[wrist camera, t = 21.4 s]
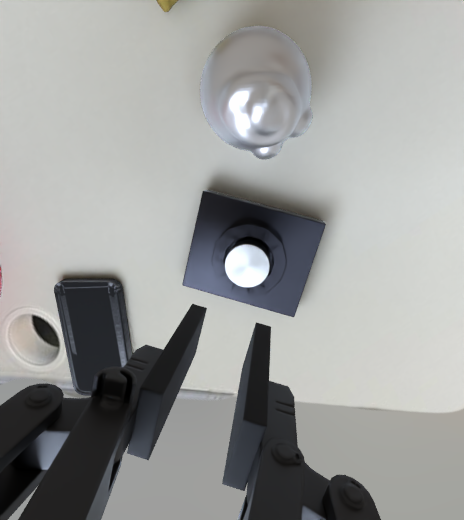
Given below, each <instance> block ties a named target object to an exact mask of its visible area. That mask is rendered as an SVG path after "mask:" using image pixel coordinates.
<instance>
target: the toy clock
mask: <svg viewBox="0 0 464 520" xmlns="http://www.w3.org/2000/svg"><path fill="white" fill-rule="evenodd" d="M1 288H2V276H1V267H0V296H1Z"/></svg>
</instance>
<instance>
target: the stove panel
mask: <svg viewBox="0 0 464 520" xmlns="http://www.w3.org/2000/svg"><path fill="white" fill-rule="evenodd" d="M325 225H326V224H325V223H324V222H323V221H322V220H319V219H316V218H312V217H308V216H305V215H301V214H297V213H293V212H290V211H286V210H282V209H279V208H275V207H271V206H267V205H264V204H260V203H256V202H253V201H249V200H245V199H241V198H238V197H234V196H230V195H227V194H223V193H219V192H215V191H212V190H205V191H203V193H202V198H201V202H200V207H199V211H198V216H197V221H196V225H195V230H194V234H193V239H192V243H191V248H190V253H189V257H188V262H187V266H186V271H185V275H184V280H183V285H184V286H187V287H191V288H194V289H198V290H201V291H204V292H208V293H211V294H215V295H218V296H222V297H225V298H229V299H232V300H236V301H239V302H243V303H246V304H250V305H253V306H257V307H260V308H263V309H267V310H270V311H274V312H277V313H281V314H284V315H288V316H291V317H294V316H295V313H296V310H297V307H298V304H299V301H300V298H301V295H302V292H303V290H304V287H305V284H306V281H307V278H308V275H309V272H310V269H311V266H312V263H313V260H314V257H315V254H316V251H317V249H318V246H319V243H320V240H321V237H322V234H323V231H324V228H325ZM242 240H255V241H258V242H260V243H261V244H262V245H264V246H265V248H266V249H267V250H268V252H269V255H270V270H269V273H268V276H267V277H266V279H265V280H264V281H263V282H262V283H261V284H259V285H257V286H254V287H242V286H239V285H237V284H235V283H234V282H232V281H231V280H230V278H229V277H228V275H227V273H226V270H225V260H226V257H227V255H228V253H229V251H230V250H231V248H232V247H233V246H234V245H235V244H236V243H238V242H240V241H242Z"/></svg>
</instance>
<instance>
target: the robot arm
mask: <svg viewBox="0 0 464 520" xmlns="http://www.w3.org/2000/svg"><path fill="white" fill-rule="evenodd" d="M206 309H207V308H204V307H201V306H198V305H194V304H192V305H191V307H190V309H189V310H188V312H187V313H186V315H185V317H184V318H183V320H182V321H181V323H180V325H179V326H178V328H177V329H176V331H175V333H174V334H173V336H172V337H171V339H170V341H169V342H168V344H167V345H166V347H165V349H164V350H162V349H158V348H155V347H152V346H148V345H145V346H143V347H141V348H139V349H137V350H136V351H135V352H134V354H133V355H132V356H131V358H130V359H129V360H128V361H127V363H126V365H124V367H115V366H114V367H108V368H104V369H102V370H100V371H99V372H98V373H97V374H95V375H94V381H93V388H92V395H91V397H89V398H81V399H76V398H63V392H62V390H61V389H60V388H58V387H57V386H56V385H52V384H36V385H32V386H29V387H27V388H25V389H23V390H21V391H20V392H18V393H17V394H16V395H14V396H13V397H11V398H10V399H9V400H7V401H6V402H5V403H3V404H2V405H1V406H0V520H8V519H9V517H10V516H11V515H12V514H13V513H14V512H15V511H16V510H17V508H18V507H19V506H20V505H21V504H22V503H23V502H24V501H25V500H26V498H27V497H28V496H29V495H30V494H31V493H32V492H33V491H34V490H35V488H36V487H37V486H38V485H39V486H38V487H37V489H36V491H35V492H34V494H33V496H32V498H31V499H30V501H29V502H28V504H27V506H26V508H25V509H24V511H23V513H22V514H21V516H20V518H19V519H18V520H101V518H102V515H103V513H104V510H105V507H106V504H107V502H108V499H109V496H110V493H111V491H112V488H113V485H114V483H115V480H116V477H117V474H118V472H119V469H120V466H121V461H122V455H123V453H124V452H125V450H126V448H127V446H128V444H129V446H128V451H127V453H128V454H131V455H134V456H137V457H141V458H144V459H147V460H149V458H150V455H151V453H152V451H153V449H154V446H155V444H156V442H157V440H158V437H159V435H160V432H161V430H162V428H163V426H164V424H165V421H166V419H167V417H168V415H169V412H170V410H171V408H172V405H173V403H174V401H175V399H176V397H177V394H178V392H179V390H180V387H181V385H182V383H183V381H184V378H185V376H186V374H187V372H188V369H189V367H190V365H191V363H192V360H193V358H194V356H195V353H196V349H197V345H198V341H199V337H200V333H201V329H202V325H203V321H204V317H205V313H206ZM270 337H271V327H270V326H266V325H263V324H259V323H256V325H255V328H254V331H253V335H252V338H251V341H250V345H249V348H248V351H247V354H246V358H245V361H244V364H243V368H242V373H241V379H240V385H239V390H238V396H237V402H236V408H235V413H234V420H233V425H232V431H231V437H230V442H229V448H228V454H227V460H226V466H225V471H224V477H223V484H224V485H227V486H230V487H233V488H236V489H240V490H243V491H245V488H246V485H247V482H248V486H247V495H246V497H245V500H244V503H243V506H242V509H241V511H240V514H239V517H238V520H381V519H380V516H379V514H378V511H377V508H376V506H375V503H374V501H373V499H372V497H371V496H370V494H369V492H368V491H367V490H366V489H365V488H364V486H363V485H362V484H360V483H359V482H358V481H356V480H355V479H353V478H351V477H348V476H346V475H336V476H334V477H333V478H331V481H330V480H328V479H326V478H324V477H323V476H321V475H320V474H318V473H316V472H315V471H314V470H312V469H311V468H310V467H309V466H308V465H307V464H306V463H305V461H304V456H303V455H302V453H301V451H300V450H299V448H298V446H297V433H296V419H295V408H294V396H293V394H292V392H291V391H290V389H289V387H288V386H284V385H281V384H278V383H274V382H271V381H269V363H270Z"/></svg>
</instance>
